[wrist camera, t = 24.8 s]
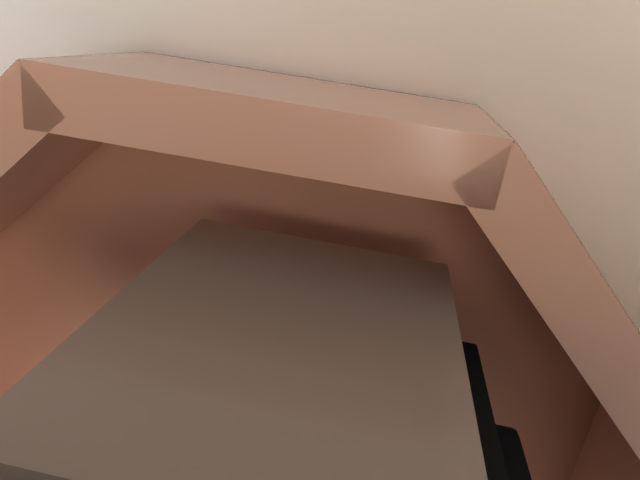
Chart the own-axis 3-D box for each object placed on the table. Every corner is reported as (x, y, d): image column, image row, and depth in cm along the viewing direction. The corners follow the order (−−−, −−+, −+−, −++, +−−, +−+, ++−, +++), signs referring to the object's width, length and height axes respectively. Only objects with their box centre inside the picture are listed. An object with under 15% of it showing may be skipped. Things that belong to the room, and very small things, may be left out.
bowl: (737, 146, 10) (920, 206, 7) (505, 690, 17) (533, 877, 13) (-74, 17, 12) (-290, 8, 8) (-9, 562, 18) (-116, 697, 14)
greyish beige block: (447, 264, 10) (507, 581, 4) (393, 480, 11) (382, 904, 6) (201, 218, 10) (-59, 448, 4) (187, 434, 12) (-8, 791, 6)
